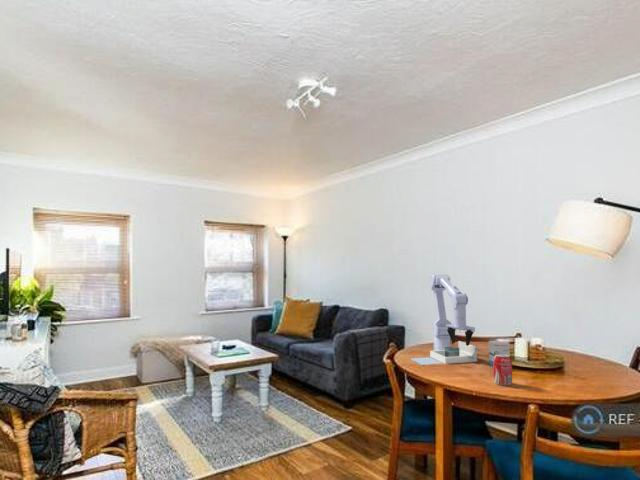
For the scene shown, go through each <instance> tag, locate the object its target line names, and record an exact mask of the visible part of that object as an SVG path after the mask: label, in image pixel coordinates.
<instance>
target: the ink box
mask: <svg viewBox="0 0 640 480" xmlns="http://www.w3.org/2000/svg"><path fill="white" fill-rule="evenodd" d="M495 354H507V355H510V354H511V352H510V343H509V342H507V341H504V340H499V341H498V340H489V341H488V364H489V365H490V366H491V367H493V359H494V357H495Z"/></svg>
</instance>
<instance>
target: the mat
mask: <svg viewBox="0 0 640 480" xmlns="http://www.w3.org/2000/svg"><path fill="white" fill-rule="evenodd" d="M410 360H411V361H413V362H414V363H417V364H418V365H421V366H422V367H423V366H425V365H438V364H439V365H440V364H441V365H442V364H443V362H440V361H438V360H436V359H434V358H432V357H430V356H429V357H428V356H426V357H413V358H412V357H411V358H410Z"/></svg>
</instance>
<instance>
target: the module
mask: <svg viewBox="0 0 640 480" xmlns="http://www.w3.org/2000/svg"><path fill="white" fill-rule="evenodd" d="M459 352H460V351H459V348H458V347H457V346H450V347H445V357H455V356H459Z"/></svg>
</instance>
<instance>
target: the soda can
mask: <svg viewBox="0 0 640 480" xmlns="http://www.w3.org/2000/svg"><path fill="white" fill-rule="evenodd" d="M492 367H493V382H494V383H495V384H496V385H498V386H503V387H508V386H510V385H512V384H513V363H512V359H511V356H510V355H507V354H495V357H494V359H493V366H492Z"/></svg>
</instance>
